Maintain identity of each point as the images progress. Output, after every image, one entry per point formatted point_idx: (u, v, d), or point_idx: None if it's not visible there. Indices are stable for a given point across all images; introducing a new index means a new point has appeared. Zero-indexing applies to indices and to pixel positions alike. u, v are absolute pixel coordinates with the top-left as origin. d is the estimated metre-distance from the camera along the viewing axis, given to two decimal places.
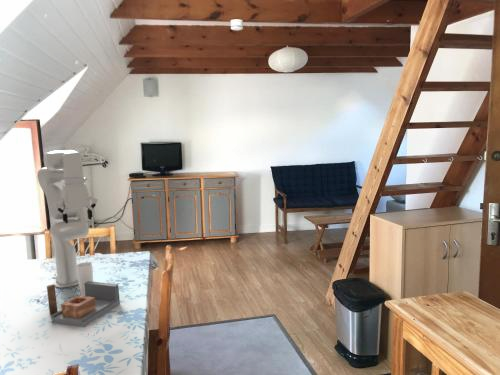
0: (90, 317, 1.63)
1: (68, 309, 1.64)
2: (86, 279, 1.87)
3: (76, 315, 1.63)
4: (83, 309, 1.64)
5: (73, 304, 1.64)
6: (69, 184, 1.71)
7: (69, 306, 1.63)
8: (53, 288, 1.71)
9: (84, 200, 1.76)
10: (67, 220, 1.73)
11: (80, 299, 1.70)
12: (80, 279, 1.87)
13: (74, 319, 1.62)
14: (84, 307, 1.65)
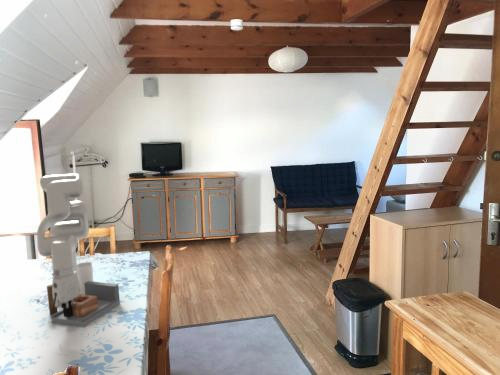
0: (90, 317, 1.63)
1: None
2: (86, 279, 1.87)
3: (78, 314, 1.64)
4: (85, 307, 1.65)
5: (75, 303, 1.65)
6: None
7: None
8: None
9: None
10: None
11: (82, 298, 1.72)
12: (80, 279, 1.87)
13: (74, 319, 1.62)
14: (86, 306, 1.66)
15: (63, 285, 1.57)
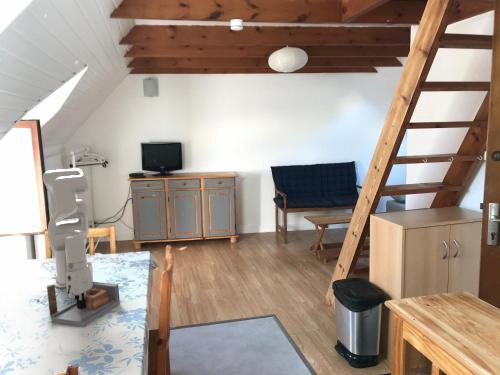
0: (90, 317, 1.63)
1: None
2: None
3: (91, 307, 1.71)
4: (97, 300, 1.72)
5: (88, 296, 1.72)
6: None
7: None
8: (53, 288, 1.71)
9: None
10: None
11: (94, 291, 1.78)
12: None
13: (74, 319, 1.62)
14: (98, 299, 1.73)
15: (77, 278, 1.64)
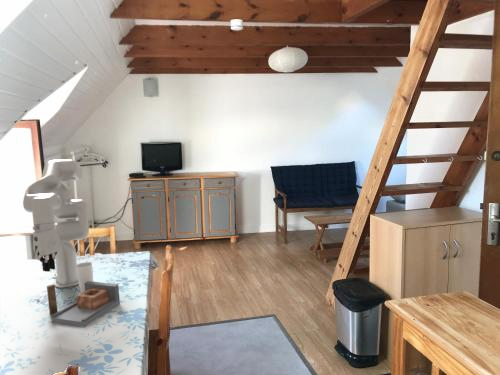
0: (90, 317, 1.63)
1: (83, 300, 1.72)
2: (86, 279, 1.87)
3: (91, 307, 1.71)
4: (97, 300, 1.72)
5: (88, 296, 1.72)
6: None
7: (84, 298, 1.71)
8: (53, 288, 1.71)
9: None
10: None
11: (94, 291, 1.78)
12: (80, 279, 1.87)
13: (74, 319, 1.62)
14: (98, 299, 1.73)
15: (44, 239, 1.65)
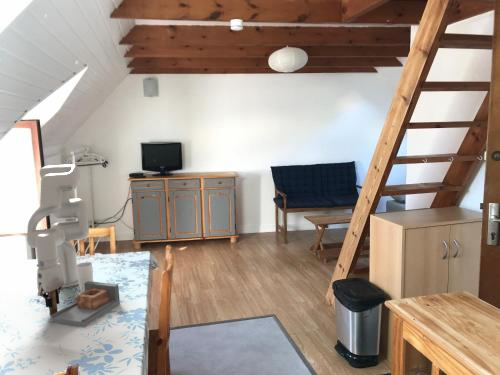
0: (90, 317, 1.63)
1: (83, 300, 1.72)
2: (86, 279, 1.87)
3: (91, 307, 1.71)
4: (97, 300, 1.72)
5: (88, 296, 1.72)
6: None
7: (84, 298, 1.71)
8: None
9: None
10: None
11: (94, 291, 1.78)
12: (80, 279, 1.87)
13: (74, 319, 1.62)
14: (98, 299, 1.73)
15: (48, 275, 1.67)
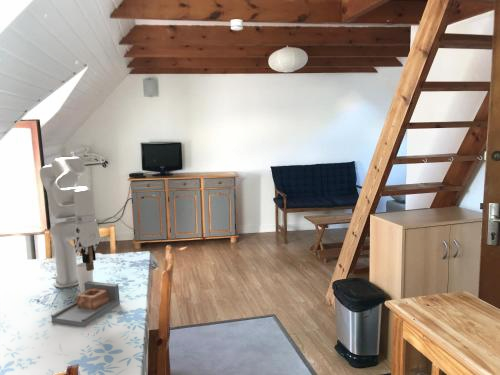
0: (90, 317, 1.63)
1: (83, 300, 1.72)
2: (86, 279, 1.87)
3: (91, 307, 1.71)
4: (97, 300, 1.72)
5: (88, 296, 1.72)
6: None
7: (84, 298, 1.71)
8: None
9: None
10: None
11: (94, 291, 1.78)
12: (80, 279, 1.87)
13: (74, 319, 1.62)
14: (98, 299, 1.73)
15: (85, 230, 1.68)
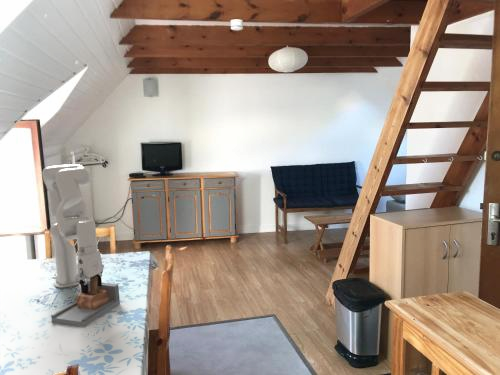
0: (90, 317, 1.63)
1: (83, 300, 1.72)
2: None
3: (91, 307, 1.71)
4: (97, 300, 1.72)
5: (88, 296, 1.72)
6: None
7: (84, 298, 1.71)
8: (96, 279, 1.74)
9: None
10: None
11: None
12: None
13: (74, 319, 1.62)
14: (98, 299, 1.73)
15: (88, 261, 1.69)
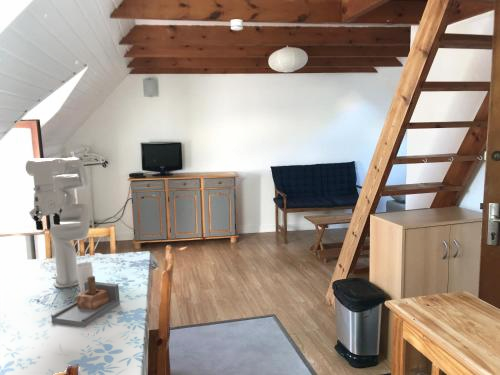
0: (90, 317, 1.63)
1: (83, 300, 1.72)
2: (86, 279, 1.87)
3: (91, 307, 1.71)
4: (97, 300, 1.72)
5: (88, 296, 1.72)
6: None
7: (84, 298, 1.71)
8: (93, 279, 1.74)
9: None
10: None
11: None
12: (80, 279, 1.87)
13: (74, 319, 1.62)
14: (98, 299, 1.73)
15: (44, 199, 1.75)
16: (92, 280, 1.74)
